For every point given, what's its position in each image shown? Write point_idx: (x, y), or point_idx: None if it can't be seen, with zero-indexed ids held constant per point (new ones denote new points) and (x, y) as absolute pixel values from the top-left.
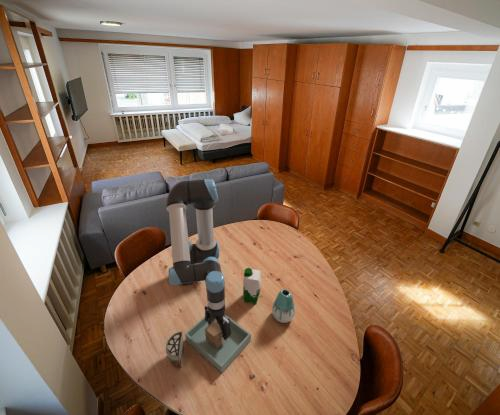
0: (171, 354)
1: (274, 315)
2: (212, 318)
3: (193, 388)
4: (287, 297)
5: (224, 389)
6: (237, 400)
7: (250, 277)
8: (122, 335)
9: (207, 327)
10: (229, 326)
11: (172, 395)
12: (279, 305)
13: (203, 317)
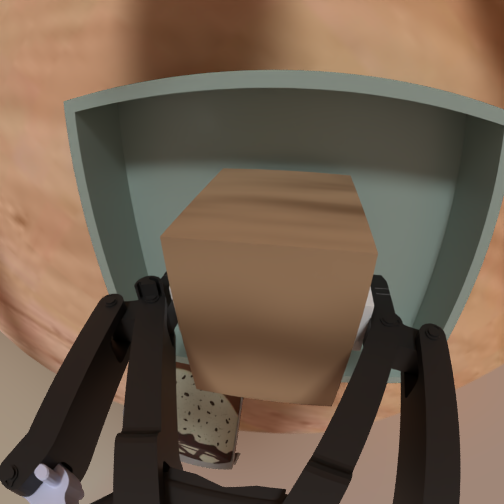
0: (207, 467)
1: None
2: (176, 440)
3: (338, 402)
4: None
5: None
6: (491, 356)
7: None
8: (55, 363)
9: (197, 375)
10: (454, 451)
11: (294, 425)
12: None
13: (88, 228)
